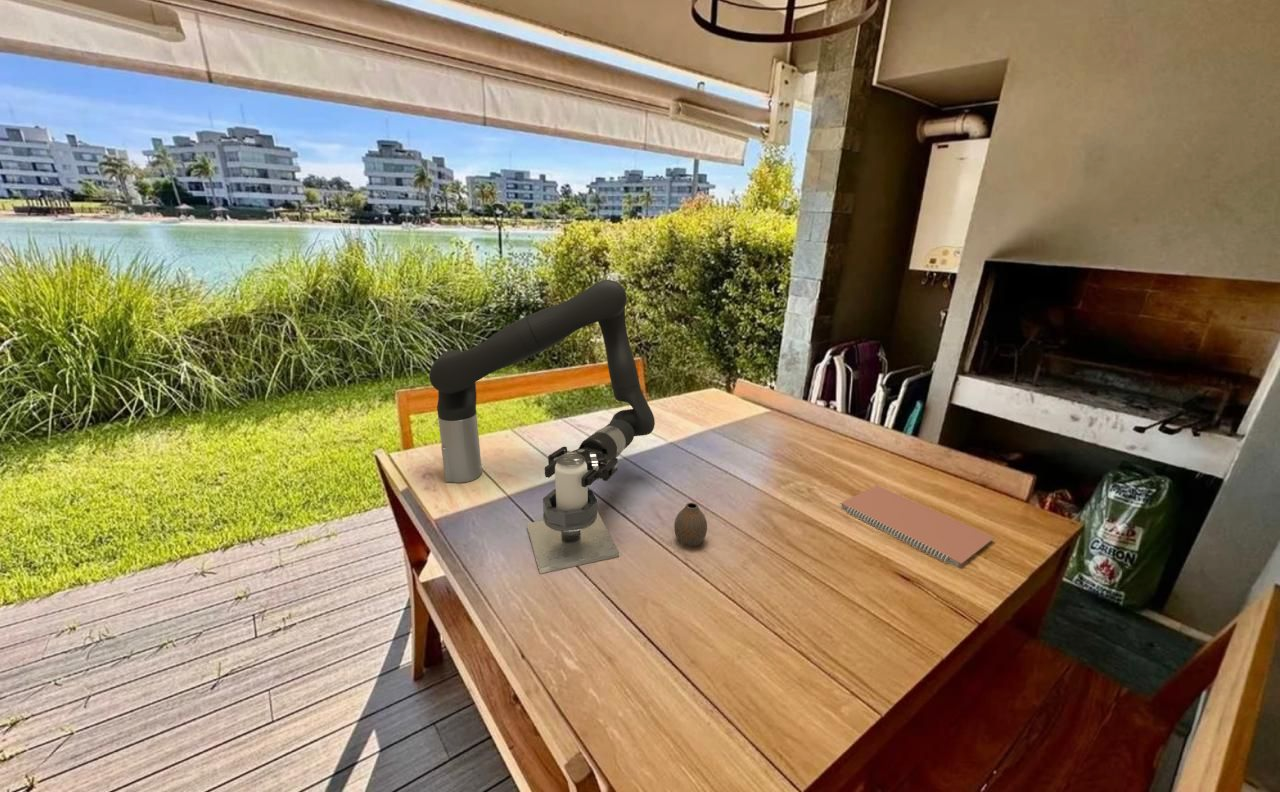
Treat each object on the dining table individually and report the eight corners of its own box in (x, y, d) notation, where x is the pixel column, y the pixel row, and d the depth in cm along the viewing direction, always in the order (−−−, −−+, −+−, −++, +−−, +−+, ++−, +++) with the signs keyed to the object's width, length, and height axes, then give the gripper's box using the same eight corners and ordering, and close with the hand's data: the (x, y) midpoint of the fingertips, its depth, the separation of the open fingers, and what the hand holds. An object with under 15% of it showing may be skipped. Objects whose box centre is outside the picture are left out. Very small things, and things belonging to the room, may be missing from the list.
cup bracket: (540, 573, 96) (537, 528, 92) (527, 528, 110) (524, 487, 106) (618, 556, 101) (619, 512, 98) (597, 515, 115) (596, 475, 112)
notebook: (836, 510, 120) (838, 503, 119) (875, 491, 129) (876, 484, 129) (956, 572, 99) (959, 564, 99) (992, 544, 109) (994, 536, 108)
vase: (709, 535, 109) (711, 500, 106) (702, 554, 102) (704, 517, 100) (678, 528, 111) (680, 494, 108) (669, 546, 105) (671, 510, 102)
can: (583, 521, 100) (582, 468, 96) (552, 518, 101) (550, 465, 97) (591, 504, 106) (590, 453, 102) (562, 501, 107) (560, 451, 103)
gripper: (575, 426, 114) (533, 453, 100) (631, 437, 109) (595, 468, 95) (576, 455, 117) (535, 486, 103) (631, 468, 111) (596, 503, 97)
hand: (564, 478), depth 99 cm, fingers open, 8 cm apart
